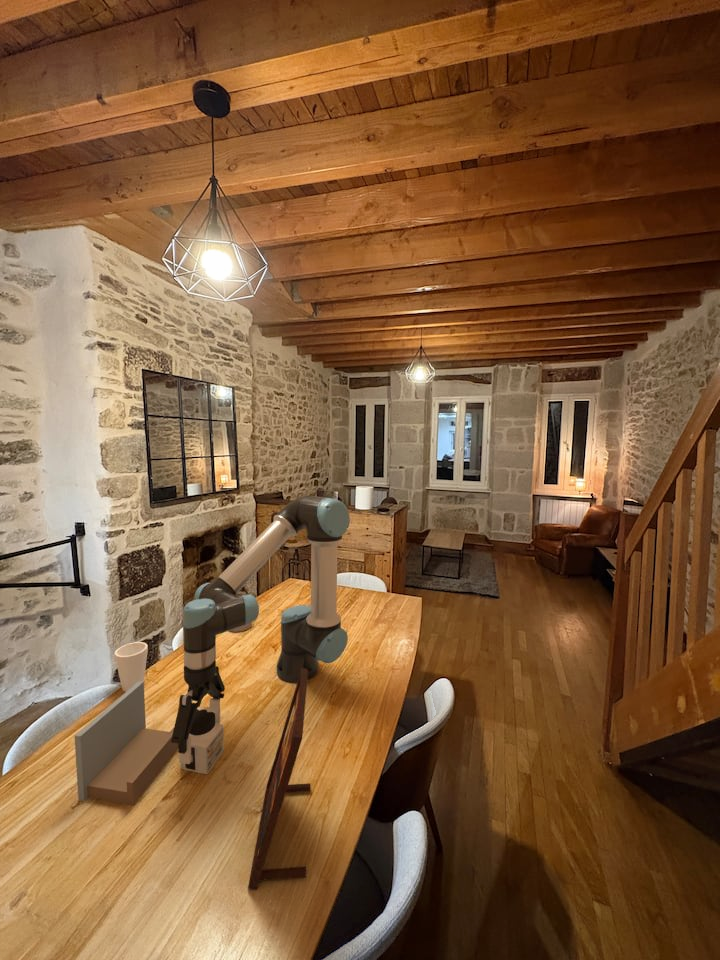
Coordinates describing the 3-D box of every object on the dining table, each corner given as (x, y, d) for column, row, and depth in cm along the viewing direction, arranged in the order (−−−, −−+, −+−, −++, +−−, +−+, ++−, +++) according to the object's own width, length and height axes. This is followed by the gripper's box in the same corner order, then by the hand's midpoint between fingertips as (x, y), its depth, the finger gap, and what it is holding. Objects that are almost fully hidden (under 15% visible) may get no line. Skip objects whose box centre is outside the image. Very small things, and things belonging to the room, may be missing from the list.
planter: (257, 625, 171) (256, 605, 170) (237, 635, 162) (237, 614, 161) (240, 619, 177) (240, 599, 176) (221, 628, 168) (220, 607, 167)
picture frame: (266, 788, 90) (264, 669, 88) (310, 785, 91) (310, 667, 88) (247, 890, 69) (245, 739, 67) (305, 885, 70) (305, 735, 68)
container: (207, 775, 94) (206, 726, 92) (179, 769, 95) (178, 721, 94) (224, 750, 101) (223, 705, 100) (198, 745, 103) (197, 700, 101)
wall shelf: (184, 740, 104) (182, 686, 103) (130, 809, 85) (127, 743, 83) (141, 734, 106) (138, 681, 105) (78, 800, 87) (74, 735, 85)
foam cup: (155, 680, 130) (153, 645, 129) (131, 697, 122) (129, 659, 121) (134, 675, 134) (133, 640, 132) (109, 691, 125) (107, 653, 124)
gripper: (212, 636, 108) (213, 706, 110) (152, 691, 84) (154, 780, 86) (237, 639, 107) (237, 709, 109) (183, 695, 83) (185, 785, 85)
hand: (201, 740), depth 97 cm, fingers open, 13 cm apart
